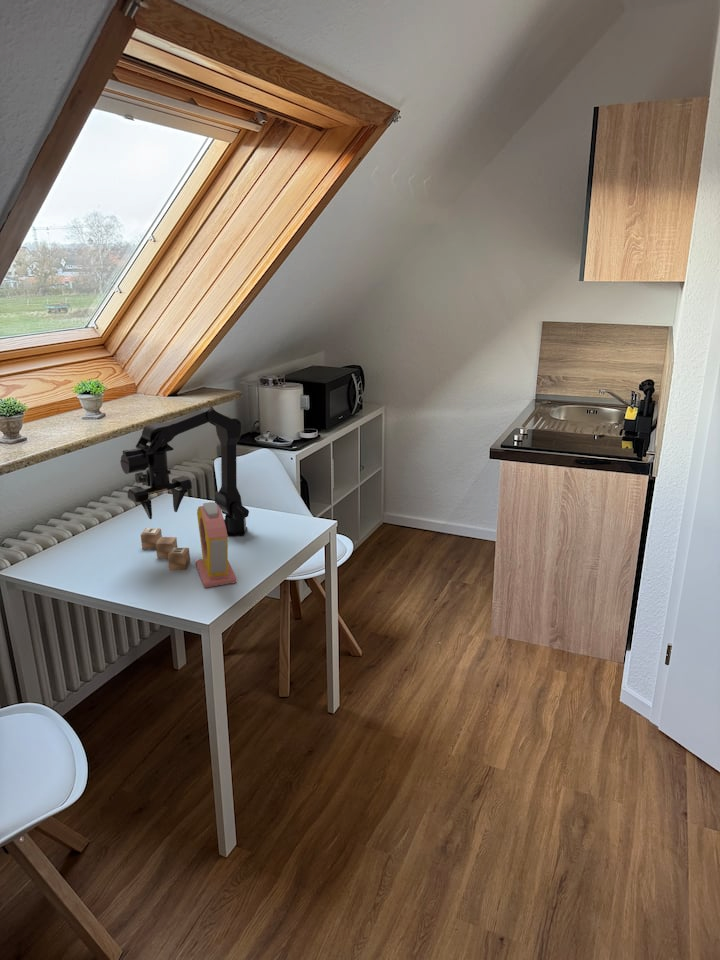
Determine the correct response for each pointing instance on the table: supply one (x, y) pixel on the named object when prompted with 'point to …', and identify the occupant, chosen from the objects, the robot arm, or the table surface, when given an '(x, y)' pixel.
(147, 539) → the numbered block
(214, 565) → the pink yellow upright block
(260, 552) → the table surface
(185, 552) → the numbered block
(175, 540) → the plain block
